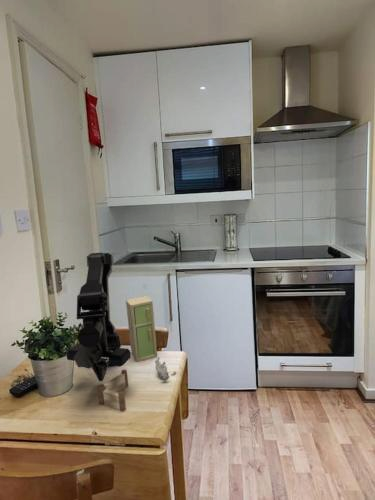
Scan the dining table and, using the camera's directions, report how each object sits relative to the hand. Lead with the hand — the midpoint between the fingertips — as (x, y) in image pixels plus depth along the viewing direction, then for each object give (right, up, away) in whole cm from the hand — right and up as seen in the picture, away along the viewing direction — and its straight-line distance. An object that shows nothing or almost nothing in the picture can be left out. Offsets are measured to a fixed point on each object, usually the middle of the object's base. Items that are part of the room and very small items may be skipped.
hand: (101, 380), depth 104 cm
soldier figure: (+18, -1, +8) cm, 20 cm away
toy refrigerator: (+10, +1, +21) cm, 23 cm away
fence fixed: (+5, -5, -8) cm, 10 cm away
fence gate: (+5, -3, -2) cm, 6 cm away
